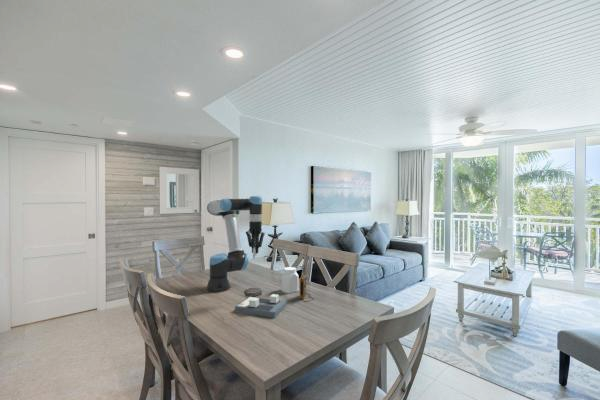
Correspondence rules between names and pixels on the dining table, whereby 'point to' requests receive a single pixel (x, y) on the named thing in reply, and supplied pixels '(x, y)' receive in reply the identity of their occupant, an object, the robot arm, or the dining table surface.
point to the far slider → (274, 298)
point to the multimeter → (303, 286)
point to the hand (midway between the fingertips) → (255, 258)
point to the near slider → (253, 302)
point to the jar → (290, 280)
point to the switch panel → (261, 307)
